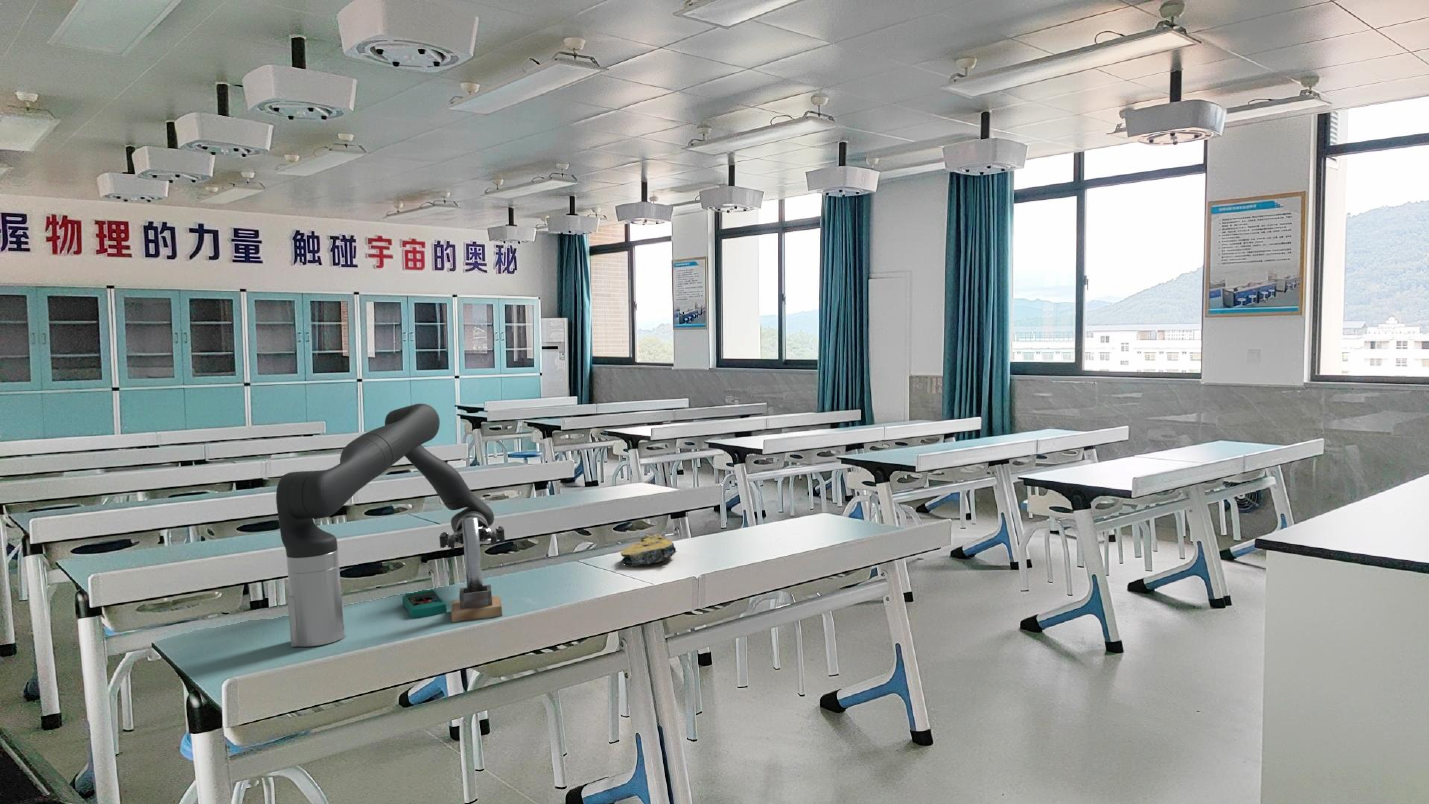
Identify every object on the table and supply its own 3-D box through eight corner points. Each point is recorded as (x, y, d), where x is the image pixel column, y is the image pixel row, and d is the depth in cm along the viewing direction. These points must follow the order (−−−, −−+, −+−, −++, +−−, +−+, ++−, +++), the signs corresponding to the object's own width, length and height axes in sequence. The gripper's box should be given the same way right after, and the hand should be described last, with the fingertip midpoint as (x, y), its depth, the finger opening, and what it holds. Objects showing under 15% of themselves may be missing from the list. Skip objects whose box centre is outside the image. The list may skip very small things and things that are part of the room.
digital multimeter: (412, 621, 196) (410, 607, 195) (402, 606, 209) (401, 593, 209) (447, 615, 199) (446, 601, 199) (436, 600, 212) (435, 587, 212)
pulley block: (684, 521, 257) (665, 543, 228) (689, 542, 258) (671, 566, 228) (635, 531, 259) (610, 554, 230) (640, 552, 259) (615, 577, 230)
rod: (468, 606, 195) (461, 520, 194) (468, 602, 198) (461, 518, 197) (484, 604, 196) (477, 518, 195) (483, 600, 199) (477, 516, 198)
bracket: (451, 622, 191) (450, 597, 190) (452, 610, 200) (451, 587, 200) (502, 615, 193) (500, 591, 193) (500, 604, 203) (499, 581, 203)
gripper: (440, 518, 221) (437, 529, 205) (501, 511, 224) (504, 522, 208) (442, 549, 221) (440, 562, 205) (504, 543, 224) (506, 555, 209)
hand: (472, 542), depth 207 cm, fingers open, 8 cm apart
